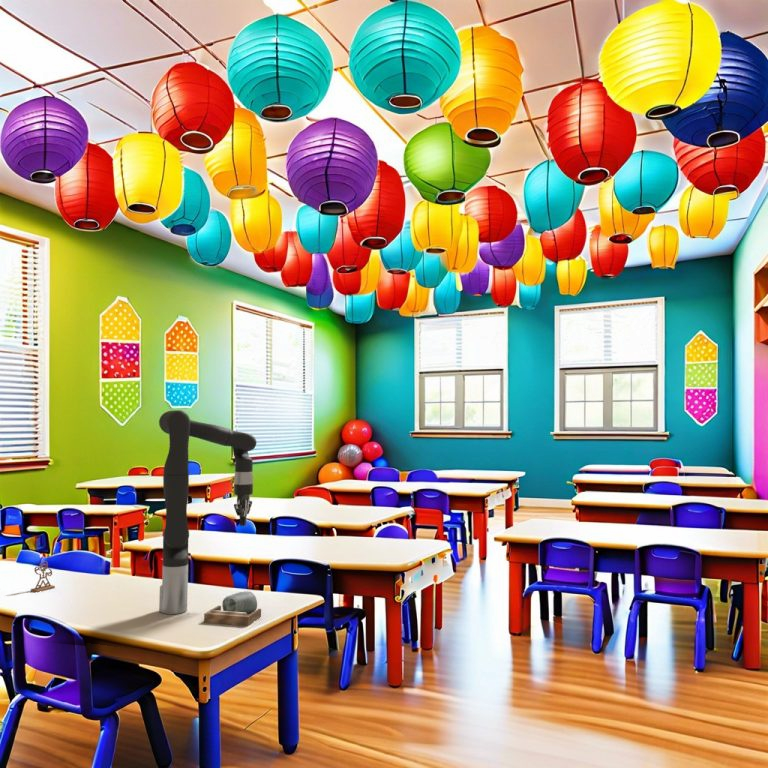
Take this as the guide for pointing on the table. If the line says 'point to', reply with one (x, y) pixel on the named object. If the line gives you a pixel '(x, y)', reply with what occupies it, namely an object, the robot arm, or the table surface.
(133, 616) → the table surface
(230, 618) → the notched board
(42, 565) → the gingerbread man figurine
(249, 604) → the spool
